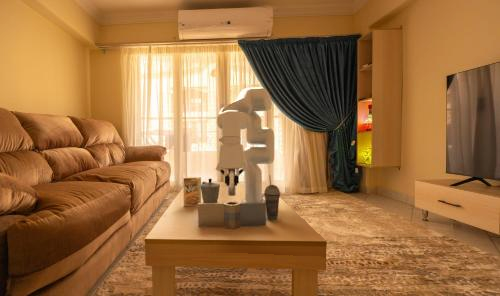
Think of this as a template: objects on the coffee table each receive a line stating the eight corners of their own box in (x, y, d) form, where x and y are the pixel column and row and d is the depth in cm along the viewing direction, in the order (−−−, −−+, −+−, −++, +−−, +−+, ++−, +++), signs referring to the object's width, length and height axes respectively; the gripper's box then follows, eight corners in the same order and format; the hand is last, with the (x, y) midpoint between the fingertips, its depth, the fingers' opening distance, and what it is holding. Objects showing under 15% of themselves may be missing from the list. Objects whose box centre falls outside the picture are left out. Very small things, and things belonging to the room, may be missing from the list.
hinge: (197, 229, 109) (196, 205, 108) (199, 224, 115) (199, 201, 115) (266, 228, 110) (266, 204, 109) (265, 223, 116) (265, 201, 116)
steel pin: (231, 194, 114) (231, 165, 113) (237, 194, 112) (236, 166, 112) (226, 195, 111) (226, 166, 111) (232, 196, 110) (231, 166, 109)
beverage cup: (276, 222, 117) (276, 176, 116) (261, 220, 120) (261, 175, 119) (282, 218, 123) (282, 174, 122) (268, 216, 127) (268, 173, 126)
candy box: (183, 206, 146) (183, 178, 146) (185, 204, 150) (185, 176, 150) (199, 206, 146) (199, 178, 145) (201, 204, 150) (201, 177, 149)
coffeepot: (226, 218, 123) (225, 179, 122) (207, 222, 118) (206, 181, 117) (211, 211, 136) (211, 175, 135) (193, 214, 131) (193, 177, 130)
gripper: (210, 141, 107) (211, 187, 108) (251, 141, 108) (251, 186, 108) (212, 141, 115) (213, 184, 115) (251, 140, 115) (251, 183, 116)
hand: (231, 184), depth 112 cm, fingers closed on steel pin, 3 cm apart
